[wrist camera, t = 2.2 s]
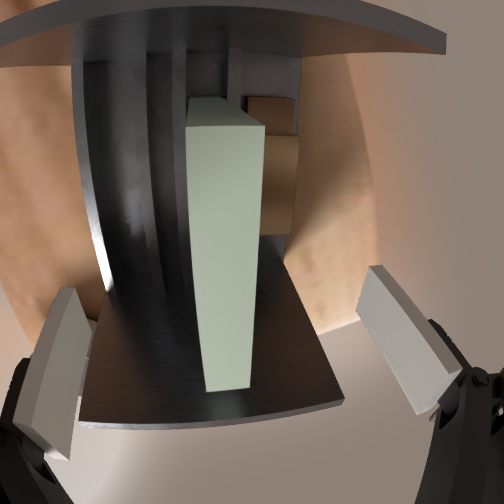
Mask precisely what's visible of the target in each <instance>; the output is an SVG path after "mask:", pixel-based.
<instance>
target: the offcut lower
mask: <svg viewBox="0 0 504 504" xmlns="http://www.w3.org/2000/svg"><path fill="white" fill-rule="evenodd" d="M294 110H295V99H293V98H289V97H274V96H247V95H245V97H244V112H245V113H247V114H248V115H250V116H251V117H253V118H254V119H256V120H257V121H259V122H260V123H262V124H263V125H265V131H272V132H293V123H294Z"/></svg>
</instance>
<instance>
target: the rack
mask: <svg viewBox="0 0 504 504" xmlns="http://www.w3.org/2000/svg"><path fill="white" fill-rule="evenodd" d="M446 35H447V34H446V33H444V32H442V31H440V30H438V29H435V28H433V27H431V26H429V25H426V24H424V23H422V22H420V21H417V20H415V19H412V18H410V17H407V16H405V15H402V14H399V13H397V12H394V11H391V10H389V9H386V8H383V7H380V6H377V5H373V4H370V3H367V2H364V1H361V0H60V1H56V2H53V3H50V4H47V5H44V6H41V7H38V8H35V9H33V10H30V11H27V12H25V13H22V14H20V15H17V16H15V17H12V18H10V19H8V20H5V21H3V22H1V23H0V68H3V67H17V66H71V76H72V101H73V116H74V128H75V138H76V147H77V155H78V162H79V169H80V176H81V182H82V188H83V194H84V200H85V205H86V210H87V215H88V220H89V225H90V229H91V234H92V238H93V242H94V246H95V251H96V255H97V258H98V262H99V266H100V270H101V273H102V277H103V281H104V284H105V288H106V292H105V296H104V299H103V303H102V307H101V310H100V314H99V318H98V322H97V326H96V330H95V334H94V339H93V343H92V347H91V352H90V357H89V361H88V366H87V371H86V377H85V382H84V388H83V393H82V399H81V406H80V413H79V420H78V421H79V422H80V424H81V425H82V426H83V427H87V428H102V429H122V430H169V429H190V428H206V427H216V426H227V425H236V424H243V423H251V422H258V421H265V420H271V419H278V418H283V417H289V416H294V415H299V414H304V413H309V412H314V411H318V410H322V409H327V408H331V407H335V406H339V405H342V403H343V401H344V399H345V397H344V395H343V393H342V391H341V389H340V386H339V384H338V381H337V379H336V377H335V375H334V373H333V370H332V368H331V366H330V363H329V361H328V359H327V357H326V355H325V352H324V350H323V348H322V346H321V343H320V341H319V339H318V337H317V334H316V332H315V330H314V328H313V326H312V323H311V321H310V319H309V317H308V315H307V312H306V310H305V308H304V306H303V304H302V302H301V299H300V297H299V295H298V293H297V291H296V289H295V286H294V284H293V282H292V280H291V278H290V276H289V274H288V271H287V269H286V267H285V265H284V263H283V262H284V253H285V244H286V235H287V234H275V235H259V246H258V262H257V279H256V295H255V312H254V328H253V343H252V359H251V374H250V388H242V389H233V390H223V391H213V392H207V391H206V384H205V377H204V369H203V362H202V354H201V346H200V337H199V329H198V320H197V310H196V300H195V290H194V279H193V267H192V255H191V242H190V227H189V210H188V191H187V166H186V120H187V113H188V106H189V100H190V96H209V95H219V96H221V97H222V98H224V99H225V100H227V101H229V102H230V103H232V104H233V105H235V106H236V107H238V108H239V109H241V110H242V111H244V97H245V95H247V96H274V97H289V98H293V99H295V110H294V123H293V133H295V134H296V129H297V116H298V102H299V88H300V73H301V58H302V57H311V56H320V55H331V54H345V53H367V52H406V53H428V54H440V55H446Z"/></svg>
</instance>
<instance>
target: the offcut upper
mask: <svg viewBox="0 0 504 504" xmlns="http://www.w3.org/2000/svg"><path fill="white" fill-rule="evenodd" d="M299 146H300V136H298V135H297V134H295V133H293V132H272V131H265V139H264V158H263V176H262V194H261V211H260V228H259V235H275V234H291V225H292V216H293V207H294V197H295V188H296V178H297V167H298V157H299Z"/></svg>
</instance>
